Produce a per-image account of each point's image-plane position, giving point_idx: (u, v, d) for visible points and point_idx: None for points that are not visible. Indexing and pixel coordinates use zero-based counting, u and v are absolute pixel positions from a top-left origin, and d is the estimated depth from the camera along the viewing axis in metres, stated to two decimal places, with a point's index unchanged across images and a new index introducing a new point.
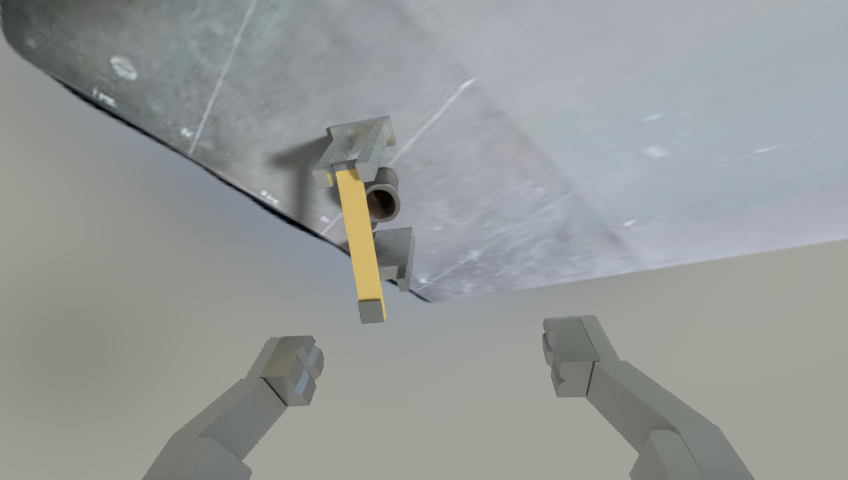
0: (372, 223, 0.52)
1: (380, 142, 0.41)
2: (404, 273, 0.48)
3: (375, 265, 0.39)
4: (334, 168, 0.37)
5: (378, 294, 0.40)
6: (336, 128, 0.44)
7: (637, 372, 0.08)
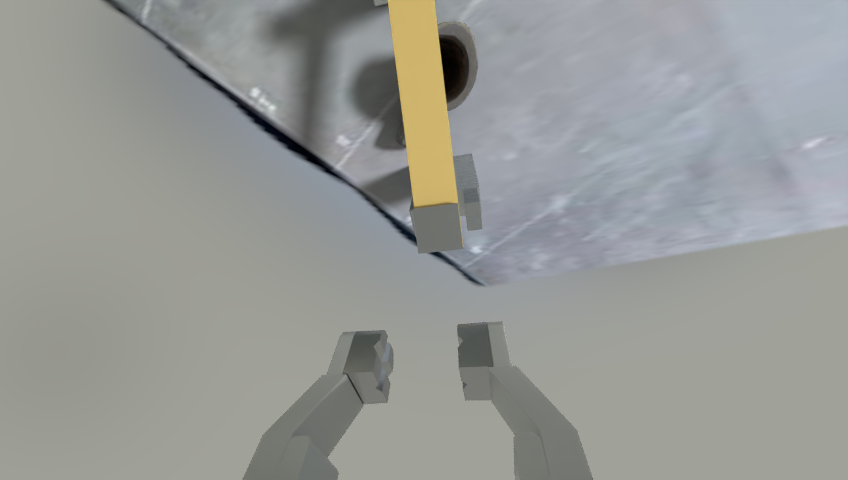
0: None
1: None
2: (477, 196, 0.28)
3: (449, 136, 0.20)
4: None
5: (454, 193, 0.20)
6: None
7: (524, 377, 0.08)
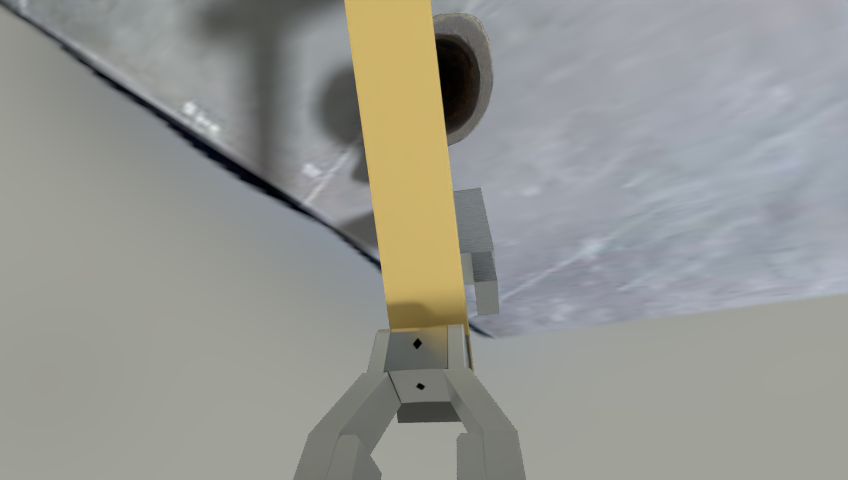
0: None
1: None
2: (492, 269, 0.19)
3: None
4: None
5: (462, 317, 0.11)
6: None
7: (477, 379, 0.08)
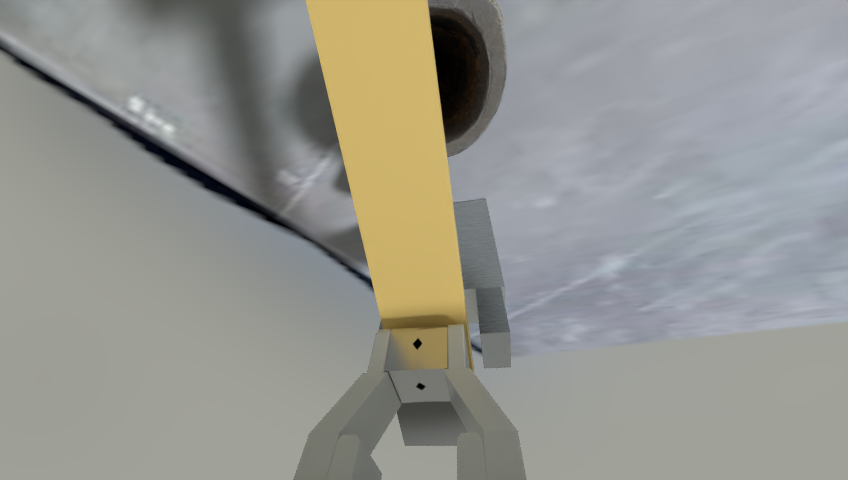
0: None
1: None
2: (503, 314, 0.15)
3: (457, 256, 0.10)
4: None
5: None
6: None
7: (477, 379, 0.08)
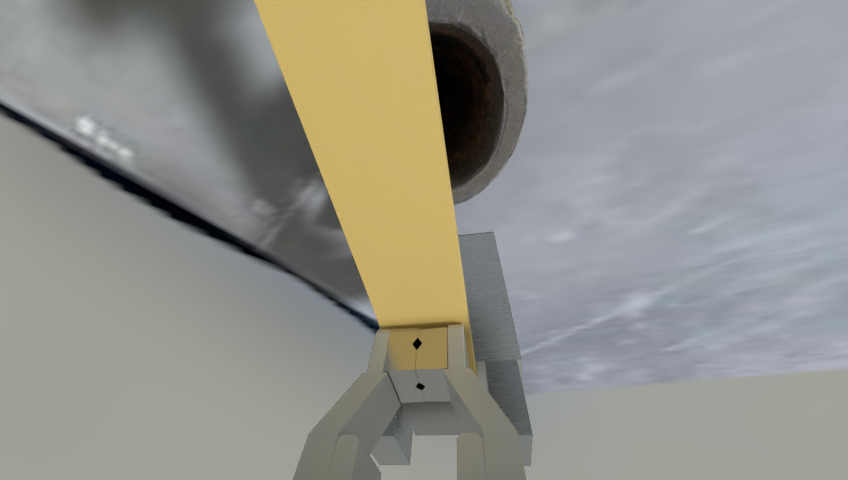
0: None
1: None
2: (522, 404, 0.12)
3: None
4: None
5: None
6: None
7: (476, 379, 0.08)
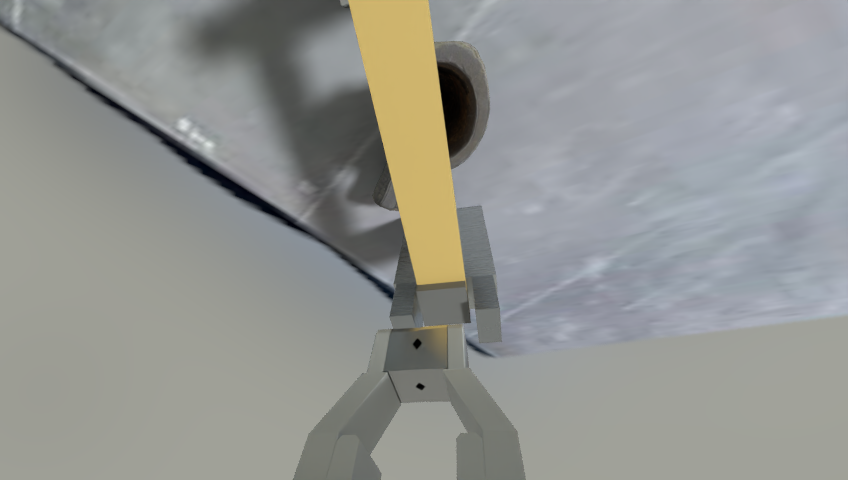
0: None
1: None
2: (494, 295, 0.18)
3: (455, 212, 0.16)
4: None
5: (461, 271, 0.18)
6: None
7: (477, 379, 0.08)
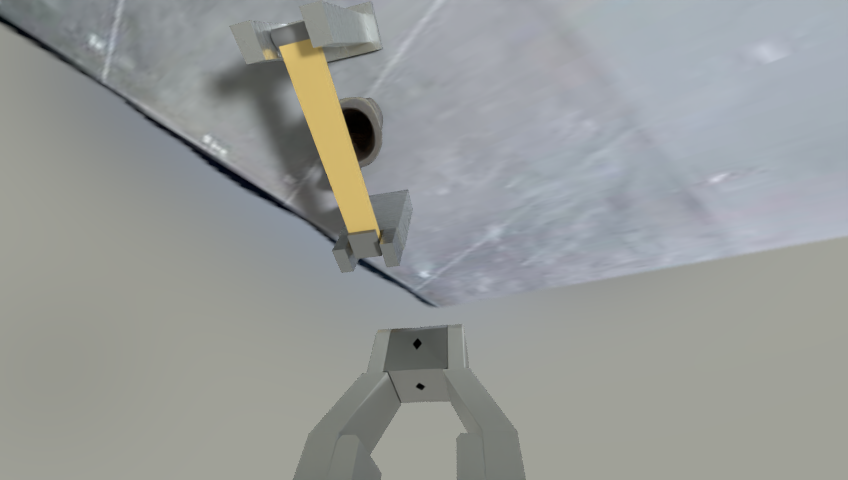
0: None
1: (355, 22, 0.27)
2: (392, 237, 0.32)
3: (363, 188, 0.29)
4: (275, 40, 0.23)
5: (372, 223, 0.31)
6: (296, 22, 0.31)
7: (476, 379, 0.08)
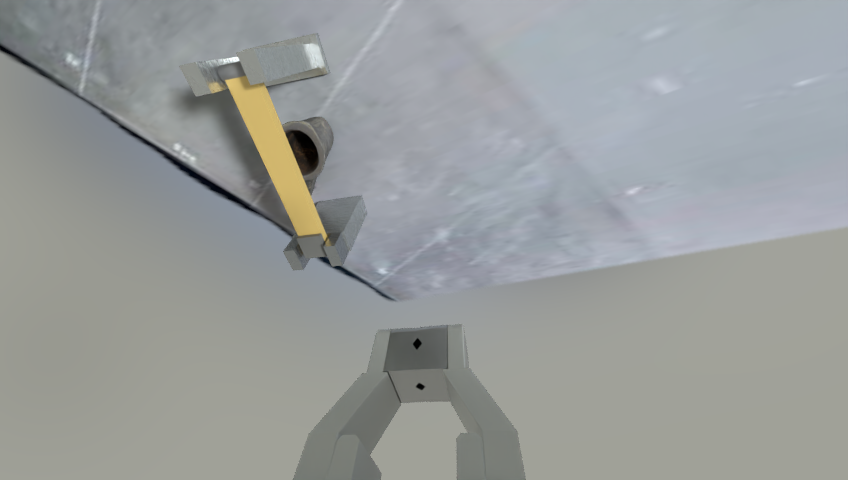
0: None
1: (297, 55, 0.31)
2: (336, 240, 0.36)
3: (307, 198, 0.34)
4: (221, 75, 0.27)
5: (317, 228, 0.36)
6: None
7: (476, 379, 0.08)
